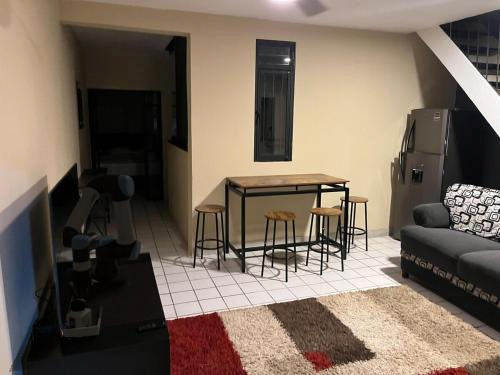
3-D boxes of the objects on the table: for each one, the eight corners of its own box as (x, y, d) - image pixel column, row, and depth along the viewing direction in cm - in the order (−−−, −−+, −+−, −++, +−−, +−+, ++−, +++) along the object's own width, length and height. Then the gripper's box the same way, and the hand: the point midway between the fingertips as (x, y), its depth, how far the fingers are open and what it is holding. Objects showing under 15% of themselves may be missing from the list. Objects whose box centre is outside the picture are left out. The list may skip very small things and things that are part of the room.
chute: (70, 311, 194) (70, 304, 193) (102, 308, 198) (102, 301, 197) (62, 339, 171) (61, 330, 170) (98, 334, 175) (98, 326, 175)
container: (82, 332, 177) (80, 306, 174) (66, 330, 178) (65, 304, 175) (92, 323, 184) (90, 298, 182) (77, 321, 185) (75, 296, 183)
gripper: (65, 272, 176) (67, 320, 181) (96, 270, 180) (98, 317, 184) (67, 266, 183) (70, 312, 188) (97, 264, 187) (99, 309, 191)
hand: (84, 315), depth 186 cm, fingers closed
